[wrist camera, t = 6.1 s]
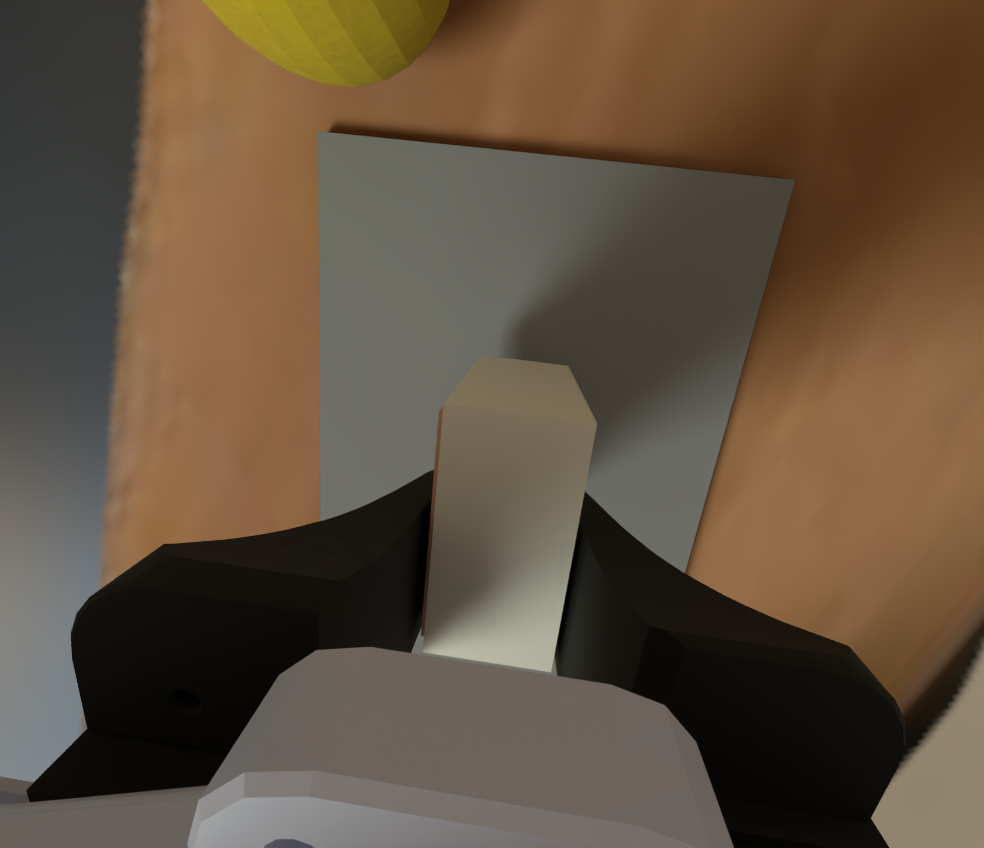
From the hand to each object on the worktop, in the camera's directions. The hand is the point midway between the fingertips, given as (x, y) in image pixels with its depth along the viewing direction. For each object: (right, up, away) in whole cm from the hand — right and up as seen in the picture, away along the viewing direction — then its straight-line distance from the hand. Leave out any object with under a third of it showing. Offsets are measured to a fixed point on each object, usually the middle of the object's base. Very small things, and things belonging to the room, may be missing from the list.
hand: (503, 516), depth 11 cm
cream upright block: (0, +2, +2) cm, 3 cm away
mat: (0, +1, +4) cm, 4 cm away
